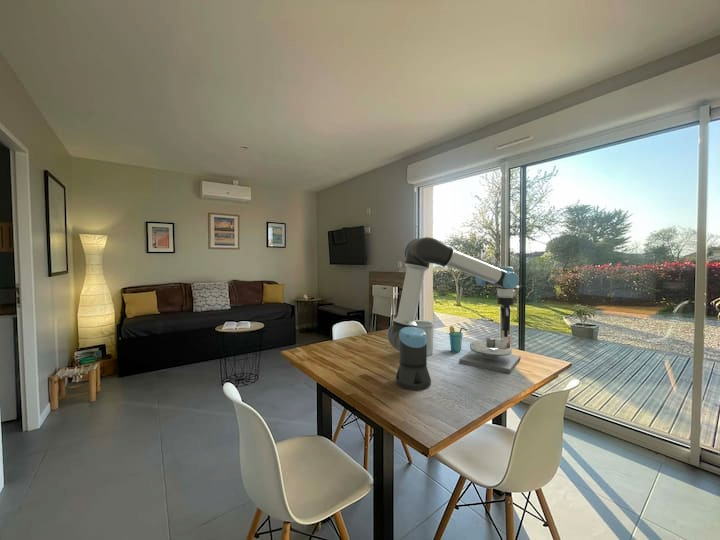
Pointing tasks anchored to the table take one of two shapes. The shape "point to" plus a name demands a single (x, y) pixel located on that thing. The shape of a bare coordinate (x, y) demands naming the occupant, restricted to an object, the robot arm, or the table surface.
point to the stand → (491, 361)
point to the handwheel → (492, 347)
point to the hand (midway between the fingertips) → (505, 342)
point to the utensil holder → (427, 333)
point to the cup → (455, 339)
